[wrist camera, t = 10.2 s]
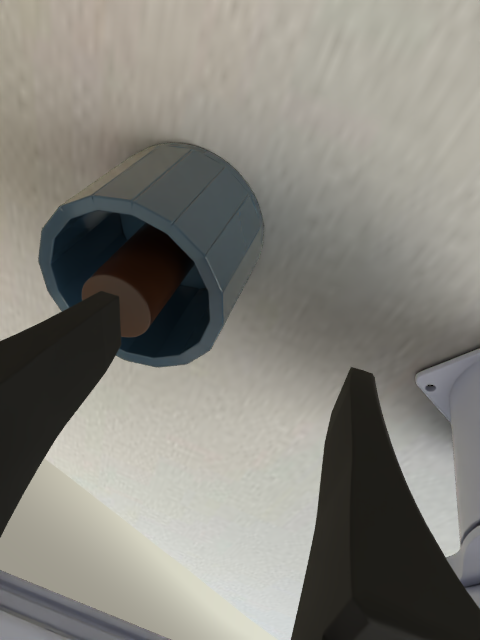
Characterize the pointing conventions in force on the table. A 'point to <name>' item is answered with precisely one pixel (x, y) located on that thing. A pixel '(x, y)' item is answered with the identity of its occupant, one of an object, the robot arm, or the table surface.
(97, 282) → the walnut peg
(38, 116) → the table surface
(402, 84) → the table surface
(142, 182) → the pen cup
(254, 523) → the table surface
